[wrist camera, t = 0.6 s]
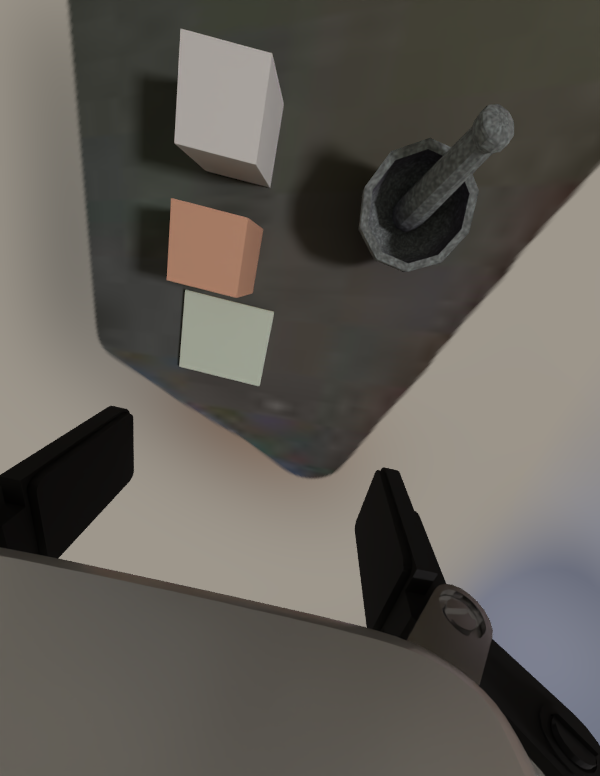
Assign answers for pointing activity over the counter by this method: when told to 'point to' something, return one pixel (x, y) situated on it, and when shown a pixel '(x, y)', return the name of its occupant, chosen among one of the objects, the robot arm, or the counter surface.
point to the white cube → (228, 107)
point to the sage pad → (224, 337)
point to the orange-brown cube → (212, 249)
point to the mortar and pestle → (429, 194)
